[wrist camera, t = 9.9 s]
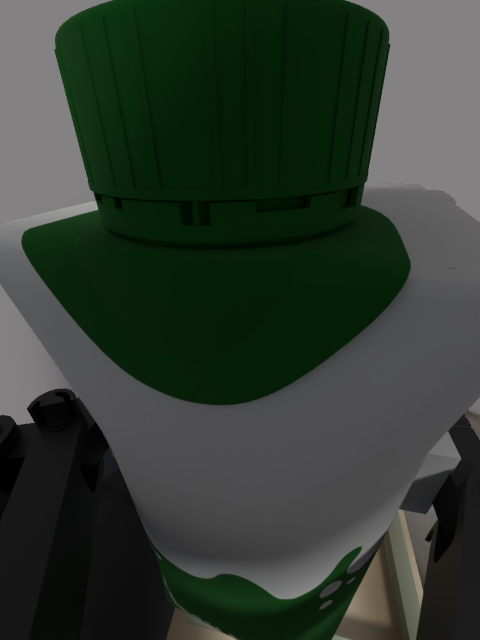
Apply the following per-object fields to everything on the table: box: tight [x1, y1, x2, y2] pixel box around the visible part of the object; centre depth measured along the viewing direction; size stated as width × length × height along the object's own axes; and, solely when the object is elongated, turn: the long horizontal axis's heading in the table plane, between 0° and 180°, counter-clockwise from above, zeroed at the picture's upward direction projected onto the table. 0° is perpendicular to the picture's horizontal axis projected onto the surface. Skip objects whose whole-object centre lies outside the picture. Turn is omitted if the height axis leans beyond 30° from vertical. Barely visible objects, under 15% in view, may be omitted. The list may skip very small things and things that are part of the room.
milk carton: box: [0, 0, 480, 640], centre depth 11 cm, size 9×9×20 cm
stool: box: [166, 509, 423, 640], centre depth 25 cm, size 16×16×10 cm
